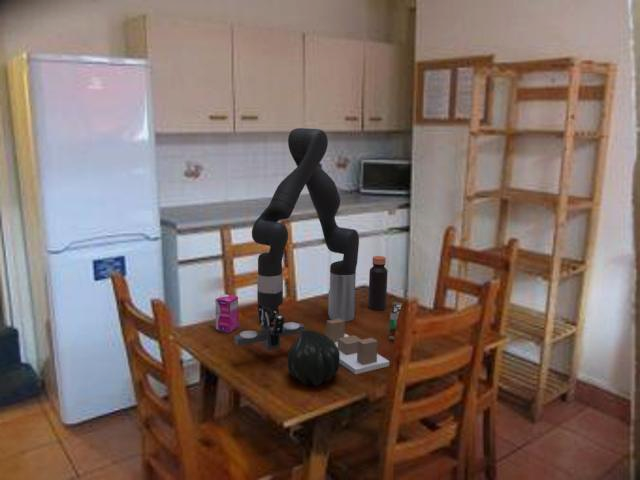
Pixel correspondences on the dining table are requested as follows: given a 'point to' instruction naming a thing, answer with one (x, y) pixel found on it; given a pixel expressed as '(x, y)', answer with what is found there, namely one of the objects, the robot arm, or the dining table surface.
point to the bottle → (378, 284)
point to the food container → (394, 319)
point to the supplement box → (226, 313)
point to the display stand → (355, 349)
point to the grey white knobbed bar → (267, 335)
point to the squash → (313, 358)
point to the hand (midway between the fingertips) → (270, 341)
